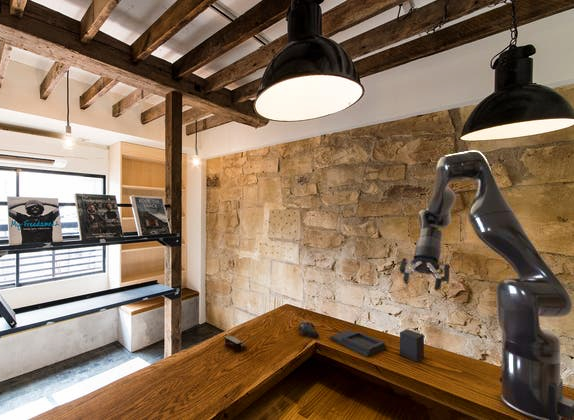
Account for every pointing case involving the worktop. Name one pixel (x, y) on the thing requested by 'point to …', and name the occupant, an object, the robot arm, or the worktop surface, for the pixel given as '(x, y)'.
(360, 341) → the pad
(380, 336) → the worktop surface
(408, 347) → the dark grey rectangular block
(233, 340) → the wireless earbuds
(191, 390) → the worktop surface
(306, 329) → the game controller
